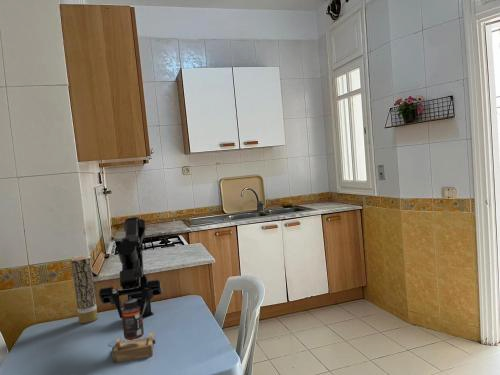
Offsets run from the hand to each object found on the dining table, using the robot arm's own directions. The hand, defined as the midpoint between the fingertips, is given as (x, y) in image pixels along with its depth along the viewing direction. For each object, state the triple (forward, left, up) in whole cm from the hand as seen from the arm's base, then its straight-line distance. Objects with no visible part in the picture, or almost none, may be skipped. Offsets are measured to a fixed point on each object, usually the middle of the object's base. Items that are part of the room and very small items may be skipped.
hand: (131, 316), depth 116 cm
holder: (+1, +1, -10) cm, 11 cm away
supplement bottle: (-1, -1, -7) cm, 7 cm away
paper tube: (+2, -41, -11) cm, 42 cm away
